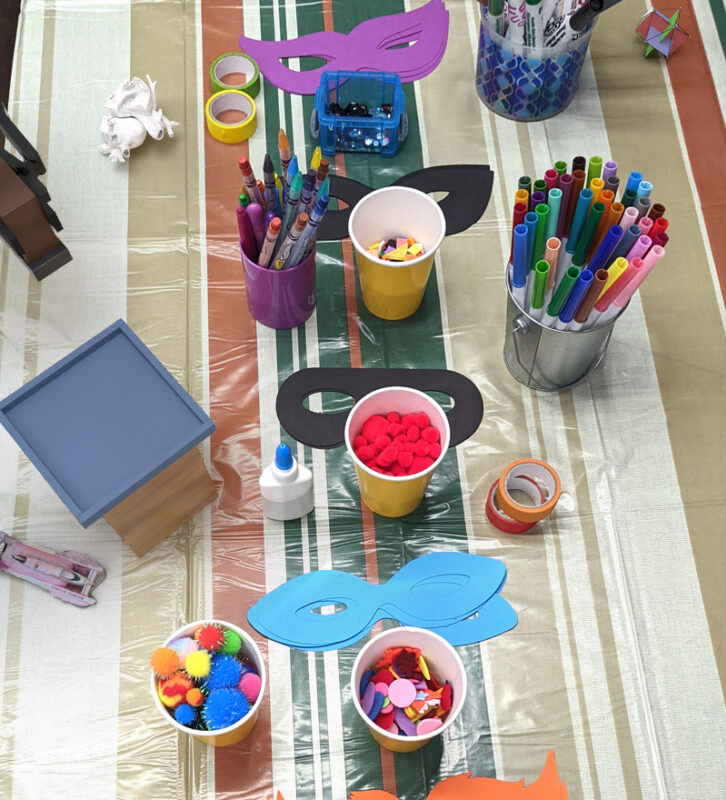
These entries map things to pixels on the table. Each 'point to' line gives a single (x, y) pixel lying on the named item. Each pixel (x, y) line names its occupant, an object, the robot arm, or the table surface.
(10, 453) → the table surface
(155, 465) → the tray
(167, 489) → the wooden block
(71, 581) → the pink toy racer
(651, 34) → the geometric puzzle
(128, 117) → the heart
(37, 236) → the brown angled block
